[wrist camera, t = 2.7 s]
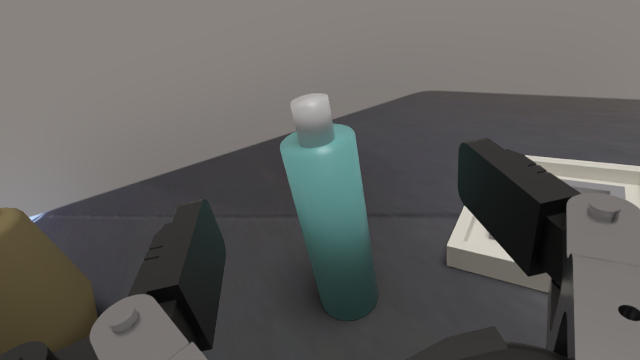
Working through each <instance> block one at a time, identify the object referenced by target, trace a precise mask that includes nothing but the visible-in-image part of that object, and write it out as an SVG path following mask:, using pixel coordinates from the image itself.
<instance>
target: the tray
mask: <svg viewBox="0 0 640 360" xmlns="http://www.w3.org/2000/svg"><path fill="white" fill-rule="evenodd" d="M525 156H526V155H525ZM526 157H528V158H529V159H531V160H532V161H534V162H535V163H536V165H540V166H541V167H543V168H544V169H546V170H547V172H550V173H552V174H553V175H555V176H556V177H558V178H559V179H561V180H562V181H563V182H565V183H566V184H568V185H569V186H571V187H572V188H574V189H575V190H577V191H578V192H580V193H581V194H585V193H601V194H608V195H612V196H616V197H619V198H622V199H625V200H627V201H629V202H631V203H633V204H634V205H636V206H637V207H638V208H639V209H640V166H631V165H621V164H610V163H600V162H589V161H579V160H568V159H558V158H547V157H536V156H526ZM447 266H450V267H454V268H457V269H461V270H465V271H469V272H472V273H476V274H480V275H483V276H487V277H491V278H495V279H498V280H502V281H506V282H509V283H513V284H517V285H521V286H524V287H528V288H532V289H535V290H539V291H543V292H546V293H549V284H550V279H551V277H550V276H549V275H548V274H547V273H543V274H539V275H534V276H530V277H528V276H527V275H526V274H525V273H524V272H523V271H522V269H521V268H520V267H519V266H518V265H517V264H516V263H515V262H514V260H513V259H512V258H511V257H510V256H509V255H508V254H507V253H506V251H505V250H504V249H503V248H502V247H501V246H500V245H499V244H498V242H497V241H496V240H495V239H494V238H493V237H492V236H491V235H490V233H489V232H488V231H487V230H486V229H485V228H484V227H483V226H482V224H481V223H480V222H479V221H478V220H477V219H476V218H475V216H474V215H473V214H472V213H471V212H470V211H469V210H468V209H467V207H466V206H464V208H463V210H462V213H461V215H460V217H459V219H458V222H457V224H456V226H455V228H454V231H453V233H452V235H451V237H450V240H449V242H448V244H447Z"/></svg>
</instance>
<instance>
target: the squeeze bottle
mask: <svg viewBox="0 0 640 360" xmlns="http://www.w3.org/2000/svg"><path fill="white" fill-rule="evenodd" d="M97 319H98V315H97V310H96V305H95V300H94V295H93V290H92V285H91V281H90V280H89V279H88V278H87V277H86V276H85V275H84V274H83V273H82V272H81V271H80V270H79V269H78V268H77V267H76V266H75V265H74V264H73V263H72V262H71V261H70V260H69V259H68V258H67V257H66V256H65V255H64V254H63V252H62V251H61V250H60V249H59V248H58V247H57V246H56V245H55V244H54V243H53V242H52V241H51V240H50V239H49V238H48V237H47V236H46V235H45V234H44V233H43V232H42V231H41V230H40V229H39V228H38V227H37V226H36V225H35V224H34V223H33V222H32V221H31V219H30V218H29V217H28V216H27V215H26V214H25V213H24V212H23V211H20V210H18V209H15V208H0V355H1V354H3V353H5V352H6V351H8V350H10V349H12V348H14V347H16V346H18V345H20V344H23V343H26V342H31V341H39V342H43V343H44V344H45V345H46V346H47V347H48V348H49V349H50V350H51V351H52V352H53V353H54V352H56V351H58V350H60V349H62V348H64V347H66V346H68V345H71V344H73V343H75V342H77V341H79V340H81V339H83V338H85V337H87V336H89V335H90V332H91V329H92V327H93V325H94V323H95V322H96V320H97Z"/></svg>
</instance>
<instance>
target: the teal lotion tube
mask: <svg viewBox="0 0 640 360" xmlns="http://www.w3.org/2000/svg"><path fill="white" fill-rule="evenodd" d="M290 106H291V110H292V114H293V119H294V123H295V127H296V132H294V133H292V134H290V135H289V136H287V137H286V138H285V139H284V140H283V141H282V143H281V145H280V151H281V154H282V158H283V162H284V166H285V169H286V173H287V177H288V180H289V184H290V188H291V192H292V195H293V199H294V203H295V206H296V210H297V214H298V218H299V221H300V225H301V229H302V233H303V236H304V240H305V244H306V247H307V251H308V255H309V259H310V262H311V266H312V270H313V274H314V277H315V281H316V285H317V288H318V292H319V296H320V300H321V303H322V306H323V308H324V310H325V311H326V313H327V314H329V315H330V316H331V317H333V318H335V319H338V320H343V321H351V320H356V319H360V318H362V317H364V316H366V315H367V314H369V313H370V312H371V311H372V310H373V309H374V307H375V305H376V303H377V300H378V291H377V284H376V277H375V270H374V263H373V256H372V249H371V242H370V235H369V228H368V221H367V214H366V207H365V200H364V193H363V186H362V180H361V173H360V166H359V159H358V152H357V145H356V138H355V132H354V131H353V129H352V128H350V127H348V126H345V125H341V124H333V122H332V117H331V111H330V105H329V100H328V96H327V95H326V94H323V93H314V94H307V95H303V96H300V97H298V98H296V99H294V100H292V101H291V103H290Z"/></svg>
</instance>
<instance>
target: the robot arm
mask: <svg viewBox="0 0 640 360" xmlns="http://www.w3.org/2000/svg"><path fill="white" fill-rule="evenodd" d="M458 192H459V195H460V198H461V200H462V202H463V204H464V205H465V206H466V207H467V209H468V210H469V211H470V212H471V213H472V214H473V215H474V216H475V218H476V219H477V220H478V221H479V222H480V223H481V224H482V226H483V227H484V228H485V229H486V230H487V231H488V232H489V233H490V235H491V236H492V237H493V238H494V239H495V240H496V241H497V242H498V244H499V245H500V246H501V247H502V248H503V249H504V250H505V251H506V253H507V254H508V255H509V256H510V257H511V258H512V259H513V260H514V262H515V263H516V264H517V265H518V266H519V267H520V268H521V269H522V271H523V272H524V273H525V274H526V275H527V276H528V277H530V276H534V275H539V274H543V273H547V274H548V275H549V276H550V277H551V279H550V284H549V296H548V320H547V342H546V349H543V348H540V347H536V346H532V345H527V344H522V343H514V342H505V341H504V340H503V338H502V337H501V335H500V334H499V332H498V331H497V329H496V328H495V326H493V327H489V328H485V329H481V330H476V331H472V332H468V333H464V334H459V335H455V336H451V337H447V338H445V339H443V340H441V341H439V342H438V343H436V344H434V345H432V346H430V347H428V348H427V349H425V350H423V351H421V352H419V353H417V354H415V355H414V356H412V357H410V358H408V359H406V360H640V209H639V208H638V207H637V206H636V205H634V204H633V203H631V202H629V201H627V200H625V199H622V198H619V197H616V196H612V195H608V194H601V193H585V194H581V193H580V192H578V191H577V190H575V189H574V188H572V187H571V186H569V185H568V184H566V183H565V182H563V181H562V180H561V179H559V178H558V177H556V176H555V175H553V174H552V173H550V172H547V170H546V169H544V168H543V167H541V166H540V165H536V163H535V162H534V161H532V160H531V159H529V158H528V157H526V156H525V155H523V154H520V153H517V152H514V151H511V150H508V149H506V150H504V149H503V148H501V147H500V146H498V145H497V144H496V143H494V142H493V141H491V140H490V139H488V138H483V139H478V140H474V141H469V142H465V143H462V144H461V145H460V147H459V159H458ZM225 259H226V250H225V244H224V240H223V237H222V235H221V232H220V230H219V227H218V225H217V222H216V220H215V217H214V215H213V212H212V210H211V207H210V205H209V203H208V202H207V200H205V199H203V200H198V201H194V202H189V203H185V204H181V205H179V207H178V210H177V212H176V215H175V217H174V220H173V223H168V224H165V225H164V226H163V228H162V229H161V230H160V231H159V232H158V233H157V234H156V235H155V236H154V238H153V240H152V243H151V245H150V247H149V251H148V252H147V254H146V256H145V258H144V260H145V262H143V263H142V265H141V268H140V270H139V272H138V274H137V277H136V279H135V281H134V283H133V286H132V288H131V290H130V293H129V295H128V297H127V298H124V299H122V300H120V301H118V302H117V303H115V304H113V305H112V306H111V307H109V308H108V309H107V310H106V311H104V312H103V313H102V314H101V315H100V317H99V318H98V319H97V320H96V322H95V323H94V325H93V327H92V329H91V332H90V335H89V336H87V337H85V338H83V339H81V340H79V341H77V342H75V343H73V344H71V345H68V346H66V347H64V348H62V349H60V350H58V351H56V352H54V353H53V352H52V351H51V350H50V349H49V348H48V347H47V346H46V345H45V344H44V343H43V342H39V341H31V342H26V343H23V344H20V345H18V346H16V347H14V348H12V349H10V350H8V351H6V352H5V353H3V354H1V355H0V360H207V358H206V357H205V356H204V355H203V353H202V352H201V351H206V350H210V349H212V347H213V340H214V334H215V327H216V320H217V313H218V306H219V300H220V293H221V286H222V279H223V272H224V266H225Z"/></svg>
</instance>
